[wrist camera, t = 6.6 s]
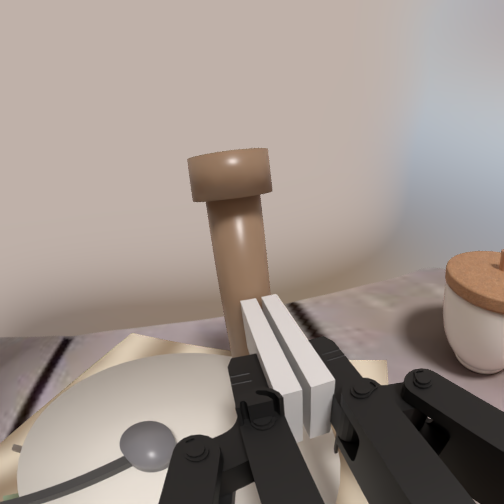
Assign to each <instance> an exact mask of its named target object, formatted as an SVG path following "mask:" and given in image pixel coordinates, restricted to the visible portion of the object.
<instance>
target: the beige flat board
mask: <svg viewBox="0 0 504 504" xmlns="http://www.w3.org/2000/svg"><path fill="white" fill-rule="evenodd" d="M176 353H206V354H217V355H224V356H230V357H232V354H231V351H229V350H222V349H215V348H208V347H202V346H196V345H190V344H184V343H179V342H173V341H168V340H163V339H158V338H153V337H148V336H144V335H139V334H135V333H131V334H130V335H129V336H128V337H126V338H125V339H124V340H123V341H121V342H120V343H119V344H118V345H117V346H115V347H114V348H113V349H112V350H110V351H109V352H108V353H107V354H106V355H104V356H103V357H102V358H101V359H100V360H98V361H97V362H96V363H95V364H94V365H92V366H91V367H90V368H89V369H87V370H86V371H85V372H84V373H83V374H81V375H80V376H79V377H78V378H77V379H75V380H74V381H73V382H72V383H71V384H69V385H68V386H67V387H66V388H65V389H64V390H62V391H61V392H60V393H59V394H58V395H56V396H55V397H54V398H53V399H52V400H50V401H49V402H48V403H47V404H46V405H45V406H43V407H42V408H41V409H40V410H39V411H37V412H36V413H35V414H34V415H33V416H32V417H30V418H29V419H28V420H27V421H26V422H25V423H23V424H22V425H21V426H20V427H19V428H18V429H16V430H15V431H14V432H13V433H12V434H11V435H9V436H8V437H7V438H6V439H5V440H4V441H3V442H1V443H0V502H2V501H6V500H10V499H14V498H17V497H19V494H18V487H17V469H18V460H19V456H20V453H21V449H22V446H23V443H24V441H25V439H26V436H27V434H28V432H29V431H30V429H31V427H32V426H33V424H34V422H35V421H36V420H37V418H38V417H39V416H40V415H41V413H42V412H43V411H44V410H45V409H46V408H47V407H48V406H49V405H50V404H51V403H52V402H53V401H54V400H55V399H56V398H57V397H59V396H60V395H61V394H62V393H64V392H65V391H66V390H68V389H69V388H71V387H72V386H73V385H75V384H77V383H79V382H80V381H82V380H84V379H85V378H87V377H89V376H91V375H93V374H95V373H98V372H100V371H102V370H105V369H107V368H110V367H112V366H115V365H118V364H121V363H125V362H128V361H132V360H136V359H140V358H145V357H150V356H156V355H164V354H176ZM349 361H350V362H351V364H352V365H353V366H354V367H355V368H356V370H357V371H358V372H359V373H360V375H361V376H362V377H363V378H370V379H373V380H375V381H376V382H378V383H379V384H380V385H388V373H387V360H349ZM331 428H332V431H333V434H334V437H336V431H335V429H334V427H333V426H332V424H331ZM338 452H339V458H340V486H339V490H338V495H337V500H336V504H369V503H368V501H367V499H366V498H365V496H364V494H363V492H362V490H361V488H360V486H359V485H358V483H357V481H356V479H355V477H354V475H353V473H352V472H351V470H350V468H349V466H348V464H347V462H346V460H345V458H344V457H343V455H342V453H341V451H340V449H339V448H338Z"/></svg>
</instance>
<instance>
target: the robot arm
mask: <svg viewBox="0 0 504 504" xmlns="http://www.w3.org/2000/svg"><path fill="white" fill-rule="evenodd" d="M261 299H262V308H263V311H262V309H261V307H260V305H259V303H258V301H257V299H256V298H253V299H248V300H243V301H240V303H241V310H242V316H243V323H244V329H245V335H246V342H247V348H248V351H249V354H250V355H245V356H240V357H235V358H231V360H230V362H229V365H228V372H229V377H230V382H231V387H232V392H233V396H234V401H235V410H236V414H237V420H236V422H235V424H234V425H233V427H232V428H231V429H229V430H228V431H227V432H225V433H223V434H221V435H219V436H217V437H214V438H211V437H209V436H206V435H201V434H199V435H190V436H188V437H185V438H183V439H182V440H180V441H179V442H178V443H177V444H176V446H175V448H174V450H173V453H172V456H171V460H170V463H169V467H168V470H167V474H166V478H165V481H164V485H163V488H162V492H161V496H160V499H159V503H158V504H235V496H236V490H238V489H241V488H243V487H245V486H247V485H249V484H251V483H253V482H255V484H256V488H257V491H258V495H259V498H260V501H261V504H325V503H324V501H323V499H322V497H321V495H320V492H319V490H318V488H317V486H316V484H315V482H314V480H313V478H312V475H311V473H310V471H309V469H308V467H307V465H306V462H305V460H304V458H303V456H302V454H301V451H300V449H299V447H298V445H297V442H301V441H303V425H304V427H305V429H306V431H307V434H308V436H309V438H310V439H311V438H314V437H317V436H320V435H323V434H326V433H329V432H330V429H331V424H332V426H333V427H334V429H335V431H336V437H335V443H334V453H335V454H336V453H338V448H339V449H340V451H341V453H342V455H343V457H344V458H345V460H346V462H347V464H348V466H349V468H350V470H351V472H352V473H353V475H354V477H355V479H356V481H357V483H358V485H359V486H360V488H361V490H362V492H363V494H364V496H365V498H366V499H367V501H368V503H369V504H476V503H475V502H474V500H476V501H477V502H478V503H480V504H504V412H503V411H501V410H499V409H497V408H496V407H494V406H492V405H490V404H489V403H487V402H485V401H483V400H482V399H480V398H478V397H476V396H475V395H473V394H471V393H470V392H468V391H466V390H464V389H463V388H461V387H459V386H458V385H456V384H454V383H452V382H451V381H449V380H447V379H446V378H444V377H442V376H440V375H439V374H437V373H435V372H434V371H431V370H429V369H415V370H412V371H411V372H409V373H408V374H407V375H406V376H405V379H404V382H402V383H396V384H390V385H380V384H379V383H378V382H376V381H375V380H373V379H370V378H363V377H362V376H361V375H360V373H359V372H358V371H357V370H356V368H355V367H354V366H353V365H352V364H351V362H350V361H349V360H348V359H347V357H346V356H344V354H343V353H342V351H341V350H339V348H338V346H337V345H336V344H335V343H334V342H333V341H332V340H330V339H328V338H326V337H324V336H323V337H319V338H315V339H311V340H308V339H307V338H306V336H305V335H304V333H303V332H302V331H301V329H300V328H299V326H298V325H297V323H296V322H295V320H294V319H293V317H292V316H291V314H290V313H289V312H288V310H287V309H286V307H285V306H284V304H283V303H282V301H281V300H280V299H279V297H278V296H277V294H274V295H269V296H264V297H261ZM427 417H429V418H431V419H429V418H427ZM472 498H473V499H474V500H473V499H472Z"/></svg>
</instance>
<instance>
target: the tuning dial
mask: <svg viewBox="0 0 504 504" xmlns="http://www.w3.org/2000/svg"><path fill="white" fill-rule="evenodd" d="M187 161H188V169H189V176H190V184H191V191H192V198H193V202H206V206H207V213H208V219H209V227H210V233H211V240H212V246H213V252H214V259H215V265H216V271H217V277H218V282H219V289H220V294H221V300H222V306H223V312H224V317H225V323H226V328H227V333H228V339H229V344H230V349H231V354H232V357H230V356H224V355H217V354H206V353H176V354H164V355H156V356H150V357H145V358H140V359H136V360H132V361H128V362H125V363H121V364H118V365H115V366H112V367H110V368H107V369H105V370H102V371H100V372H98V373H95V374H93V375H91V376H89V377H87V378H85V379H84V380H82V381H80V382H79V383H77V384H75V385H73V386H72V387H71V388H69V389H68V390H66V391H65V392H64V393H62V394H61V395H60V396H59V397H57V398H56V399H55V400H54V401H53V402H52V403H51V404H50V405H49V406H48V407H47V408H46V409H45V410H44V411H43V412H42V413H41V415H40V416H39V417H38V418H37V420H36V421H35V422H34V424H33V426H32V427H31V429H30V431H29V432H28V434H27V436H26V439H25V441H24V443H23V446H22V449H21V453H20V456H19V460H18V469H17V487H18V494H19V497H17V498H14V499H10V500H6V501H2V502H0V504H158V503H159V499H160V496H161V492H162V488H163V485H164V481H165V478H166V474H167V470H168V467H169V463H170V460H171V456H172V453H173V450H174V448H175V446H176V444H177V443H178V442H179V441H180V440H182V439H183V438H185V437H188V436H190V435H199V434H201V435H206V436H209V437H211V438H214V437H217V436H219V435H221V434H223V433H225V432H227V431H228V430H229V429H231V428H232V427H233V425H234V424H235V422H236V420H237V414H236V410H235V401H234V396H233V392H232V387H231V382H230V377H229V372H228V365H229V362H230V360H231V358H235V357H240V356H245V355H250V354H249V351H248V348H247V342H246V335H245V329H244V323H243V316H242V310H241V303H240V301H243V300H248V299H253V298H256V299H257V301H258V303H259V305H260V307H261V309H262V311H263V308H262V299H261V297H264V296H269V295H271V292H270V282H269V273H268V263H267V253H266V244H265V234H264V225H263V216H262V207H261V198H260V194H265V193H269V192H271V191H272V182H271V174H270V165H269V156H268V149H266V148H253V149H252V148H251V149H239V150H230V151H222V152H215V153H210V154H204V155H199V156H195V157H192V158H189V159H187ZM334 443H335V437H334V434H333V431H332V428H331V429H330V432H329V433H326V434H323V435H320V436H317V437H314V438H311V439H310V438H309V436H308V434H307V431H306V429H305V427H304V425H303V441H301V442H297V445H298V447H299V449H300V451H301V454H302V456H303V458H304V460H305V462H306V465H307V467H308V469H309V471H310V473H311V475H312V478H313V480H314V482H315V484H316V486H317V488H318V490H319V492H320V495H321V497H322V499H323V501H324V503H325V504H336V500H337V495H338V490H339V486H340V458H339V452H338V453H336V454H335V453H334ZM235 504H261V501H260V498H259V495H258V491H257V488H256V484H255V482H253V483H251V484H249V485H247V486H245V487H243V488H241V489H238V490H236V496H235Z"/></svg>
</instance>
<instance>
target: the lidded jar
mask: <svg viewBox="0 0 504 504" xmlns="http://www.w3.org/2000/svg"><path fill="white" fill-rule="evenodd" d="M445 278H446V284H445V292H444V300H443V322H444V329H445V333H446V336H447V339H448V342H449V344H450V346H451V347H452V349H453V351H454V352H455V355H456V358H457V359H458V361H459V362H460V363H461V364H462V365H463V366H464V367H466V368H467V369H469V370H471V371H474V372H476V373H480V374H494V373H497V372H500V371H502V370H503V369H504V249H503V250H502V251H501V253H500V252H493V251H474V252H466V253H462V254H459V255H456V256H454V257H453V258H451V259H450V260H449V261H448V263H447V266H446V275H445Z"/></svg>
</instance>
